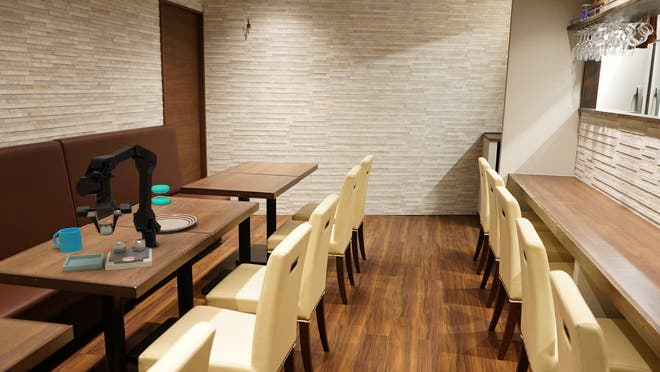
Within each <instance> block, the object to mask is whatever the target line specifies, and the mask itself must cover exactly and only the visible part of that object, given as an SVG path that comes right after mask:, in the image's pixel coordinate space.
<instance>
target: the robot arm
mask: <svg viewBox="0 0 660 372" xmlns="http://www.w3.org/2000/svg"><path fill="white" fill-rule="evenodd" d="M129 159H132V160H133V161H134V167H135V169H136V170H137V172H138V207H137V210H136V211H134V212H133V206H132V204H131V203H120V204H119V206H117V201H116V200H113V191H112V189H113V188H112V179H115V178H116V176H115V174H114V173H112V172H114V171H115V170H116V168H117V166H118V165H120V164H121V163H123V162H125V161H127V160H129ZM157 162H158V155H157V154H156V153H155V152H154V151H151V150H150V149H147V148H145V147H143V146H141V145H140V144H138V143H129V144H127V145H126V146H123V147H122V148H120V149H118V150H116V151H114V152H112V153H109V154H105V155H100V156H95V157H92V158H91V159H90V162H89V164H88V166H87V169H86V171H85V174H84V176H80V177H79V180H78V182H77V183H76V185H75V191H76V193H77V195H78V196H80V197H82V198H83V197H87V196H88V197H89V196H92V195H94V196H95V203H94V207H92V208H91V207H90V206H89V205H86V206H85V205H84V206H78V207H77V208H76V211H75V215H76V218H83V217H84V218H87V219H88V220H89V219H90V220H91V221H92V223H93V225H94V226H95V229H96V231H97V234H99V235H100V228H99V224H100V223H99V218H98V216H99V217H101V216H111V215H112V213H113V217H112V218H113V219H112V225H113V233H115V230H116V225H117V222H118V220H119V218H120V217H123V215H127V214H128V215H129V214H132V217H133V219H132V220H133V221H132V223H133V226H134V228H135V231H136V232H137V233H141V239H145V248H146V247H149V249H151V248H158V246H159V245H158V244H159V243H158V241H157V234H158V233H160V232H159V231H160V230H161V225H160V224H159V223H158V222H157V221H156V216H155V215H156V214H155V212H154V210H153V208H152V205H153V203H152V199H153V196H152V194H153V192H152V187H153V172H154V171H155V169H156V168H157Z"/></svg>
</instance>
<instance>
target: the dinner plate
mask: <svg viewBox="0 0 660 372" xmlns="http://www.w3.org/2000/svg"><path fill="white" fill-rule="evenodd" d="M155 216H156V221H157V222H158V223H159V224H160V225H161V230H160V231H159V232H158V233H170V232H176V231H181V230H182V231H183V230H184V229H186V228H188V227H191V226H192V225H194V224H196V223H197V220H198V219H197V217H196V216H194V215H192V214H187V213H164V214H163V213H162V214H155Z"/></svg>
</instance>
